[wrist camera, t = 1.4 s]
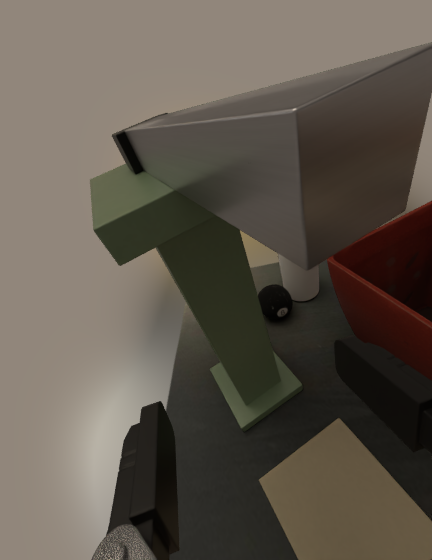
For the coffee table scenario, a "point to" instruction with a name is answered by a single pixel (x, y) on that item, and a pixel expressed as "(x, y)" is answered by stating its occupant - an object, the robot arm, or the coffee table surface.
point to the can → (299, 280)
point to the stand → (199, 282)
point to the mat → (345, 503)
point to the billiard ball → (275, 301)
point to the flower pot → (390, 287)
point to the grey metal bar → (298, 153)
